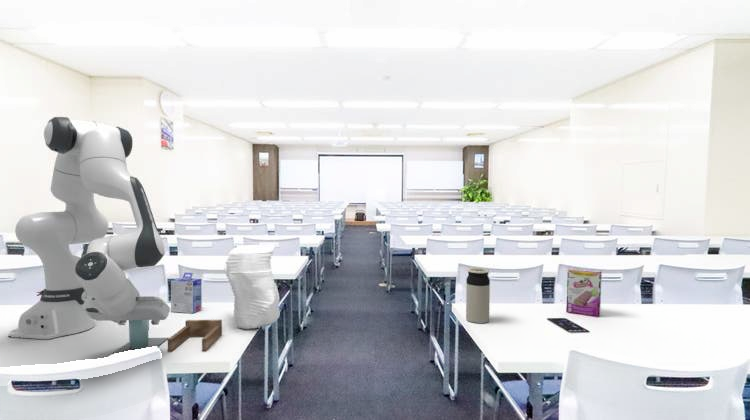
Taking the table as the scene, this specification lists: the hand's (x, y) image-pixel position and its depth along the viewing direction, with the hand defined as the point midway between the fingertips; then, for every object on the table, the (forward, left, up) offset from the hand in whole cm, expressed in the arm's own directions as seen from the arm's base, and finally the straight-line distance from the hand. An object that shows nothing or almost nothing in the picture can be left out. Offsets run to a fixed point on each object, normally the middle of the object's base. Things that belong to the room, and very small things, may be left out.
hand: (140, 322), depth 117 cm
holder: (+15, +3, -7) cm, 17 cm away
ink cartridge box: (-2, +36, -7) cm, 37 cm away
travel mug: (+106, +21, -7) cm, 108 cm away
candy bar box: (+148, +27, -7) cm, 151 cm away
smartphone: (+135, +14, -8) cm, 136 cm away
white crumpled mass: (+26, +21, -7) cm, 35 cm away
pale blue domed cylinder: (0, 0, -7) cm, 7 cm away
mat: (0, -1, -7) cm, 7 cm away
